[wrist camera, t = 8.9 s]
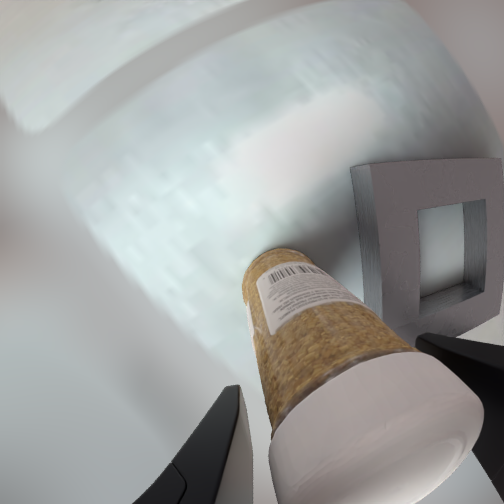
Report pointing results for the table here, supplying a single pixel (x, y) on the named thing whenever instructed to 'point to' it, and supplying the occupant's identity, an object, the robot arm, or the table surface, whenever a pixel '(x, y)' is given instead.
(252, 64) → the table surface
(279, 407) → the sprinkles bottle
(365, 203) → the metal collar
